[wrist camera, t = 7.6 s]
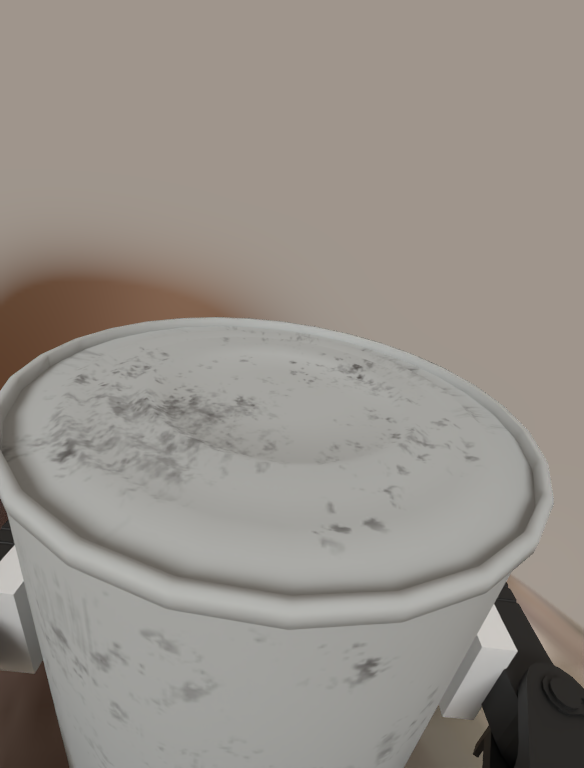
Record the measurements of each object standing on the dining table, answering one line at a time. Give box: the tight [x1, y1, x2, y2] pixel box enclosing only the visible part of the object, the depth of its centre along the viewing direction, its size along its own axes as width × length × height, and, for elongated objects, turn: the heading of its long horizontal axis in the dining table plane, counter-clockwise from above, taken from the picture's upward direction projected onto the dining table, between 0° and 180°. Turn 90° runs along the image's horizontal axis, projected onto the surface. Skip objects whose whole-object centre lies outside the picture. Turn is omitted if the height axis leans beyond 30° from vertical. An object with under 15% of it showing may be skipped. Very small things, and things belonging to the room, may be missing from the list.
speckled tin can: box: [0, 317, 554, 768], centre depth 10 cm, size 10×10×12 cm
